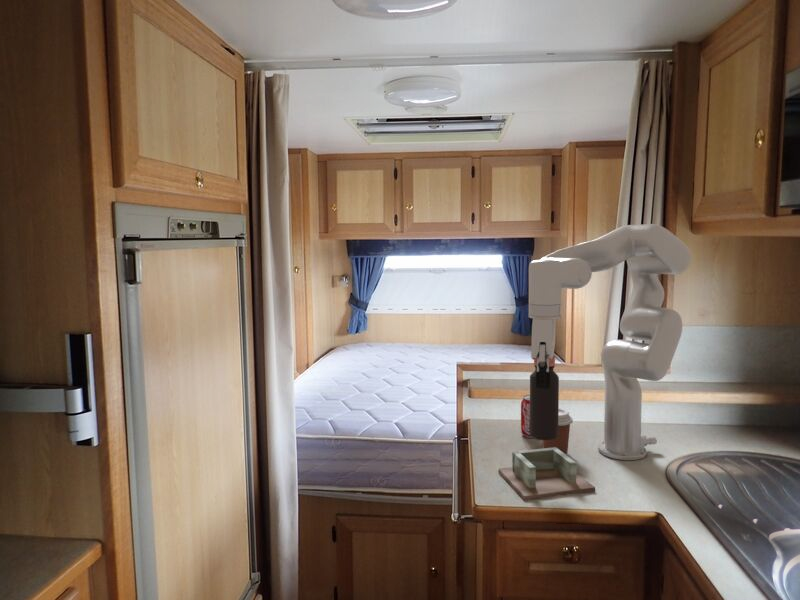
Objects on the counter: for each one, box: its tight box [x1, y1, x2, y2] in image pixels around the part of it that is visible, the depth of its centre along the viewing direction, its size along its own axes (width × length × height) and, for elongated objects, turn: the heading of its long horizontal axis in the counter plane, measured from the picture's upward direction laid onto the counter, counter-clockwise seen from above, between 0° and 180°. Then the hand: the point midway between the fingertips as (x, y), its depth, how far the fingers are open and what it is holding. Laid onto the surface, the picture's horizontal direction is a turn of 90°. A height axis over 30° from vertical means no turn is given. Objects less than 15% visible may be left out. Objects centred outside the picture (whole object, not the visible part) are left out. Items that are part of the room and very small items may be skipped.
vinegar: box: [529, 354, 560, 441], centre depth 136 cm, size 7×7×20 cm
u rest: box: [498, 447, 596, 501], centre depth 138 cm, size 16×18×6 cm
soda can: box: [520, 394, 534, 439], centre depth 170 cm, size 7×7×12 cm
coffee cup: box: [542, 408, 574, 456], centre depth 155 cm, size 9×9×12 cm
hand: (544, 383), depth 135 cm, fingers closed on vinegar, 6 cm apart
